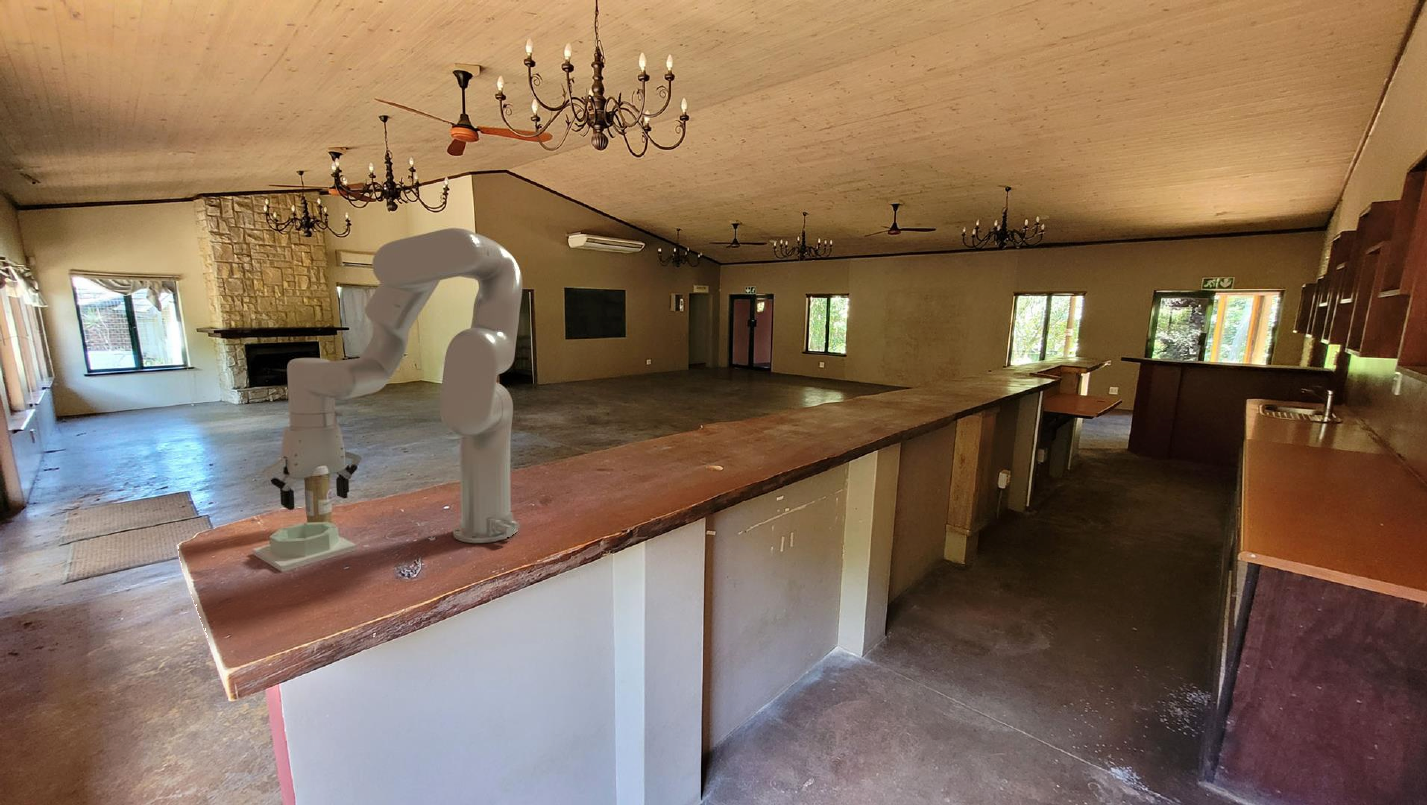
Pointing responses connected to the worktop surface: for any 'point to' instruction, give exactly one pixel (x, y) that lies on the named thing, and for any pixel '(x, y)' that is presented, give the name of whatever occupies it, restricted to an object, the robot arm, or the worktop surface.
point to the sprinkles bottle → (318, 496)
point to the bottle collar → (303, 545)
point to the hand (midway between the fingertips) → (316, 502)
